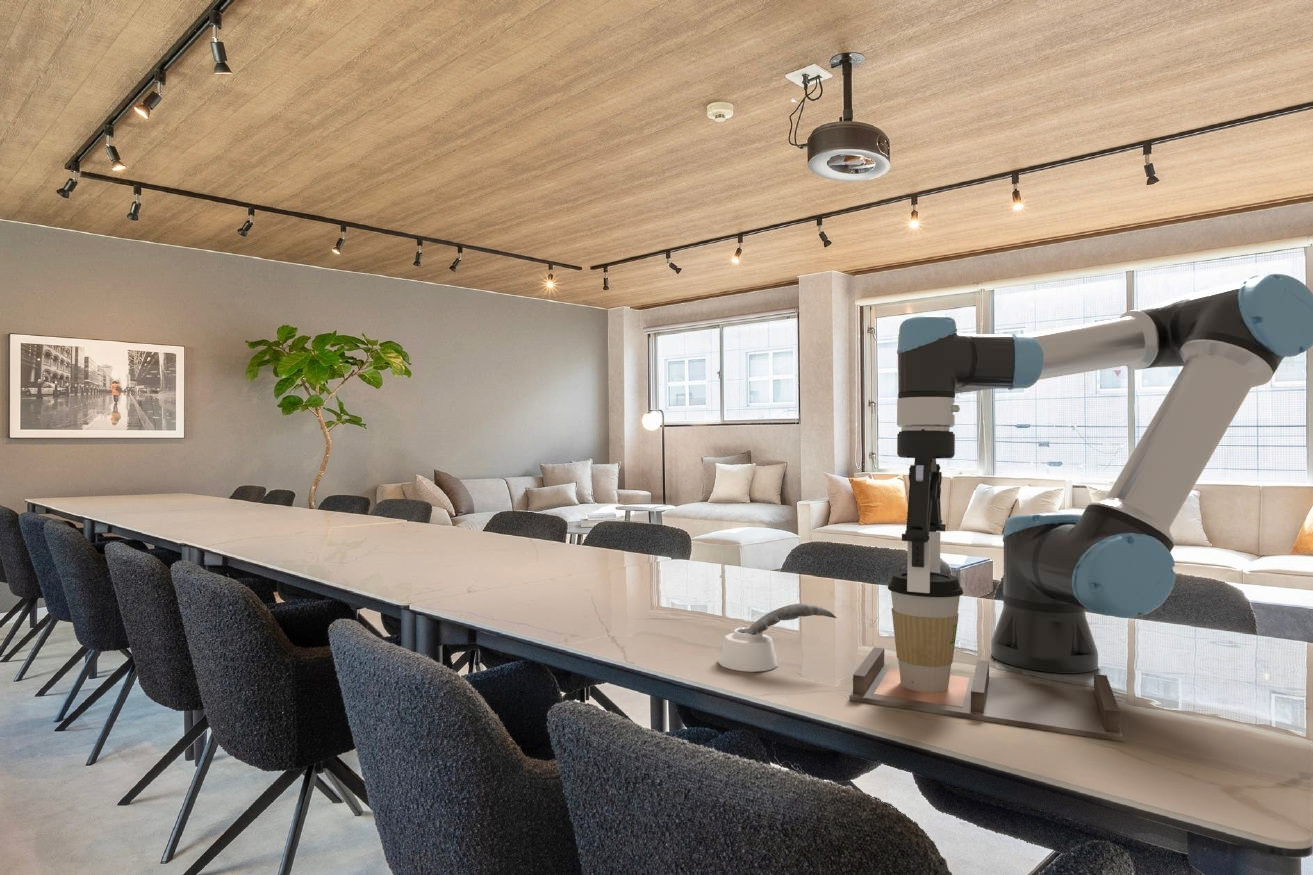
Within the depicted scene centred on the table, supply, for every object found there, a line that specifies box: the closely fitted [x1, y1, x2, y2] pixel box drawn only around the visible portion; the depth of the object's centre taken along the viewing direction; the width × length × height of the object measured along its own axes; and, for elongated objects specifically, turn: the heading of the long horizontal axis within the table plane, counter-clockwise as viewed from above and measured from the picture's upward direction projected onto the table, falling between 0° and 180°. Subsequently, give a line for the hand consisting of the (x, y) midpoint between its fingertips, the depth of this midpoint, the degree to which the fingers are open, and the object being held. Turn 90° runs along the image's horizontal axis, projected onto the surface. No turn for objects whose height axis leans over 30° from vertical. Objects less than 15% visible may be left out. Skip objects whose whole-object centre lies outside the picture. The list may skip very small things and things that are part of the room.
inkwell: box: [717, 603, 838, 673], centre depth 117 cm, size 9×18×10 cm, turn 70°
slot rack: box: [848, 646, 1124, 743], centre depth 103 cm, size 31×18×3 cm, turn 65°
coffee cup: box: [887, 570, 964, 693], centre depth 106 cm, size 10×10×15 cm
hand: (924, 583), depth 106 cm, fingers open, 13 cm apart
